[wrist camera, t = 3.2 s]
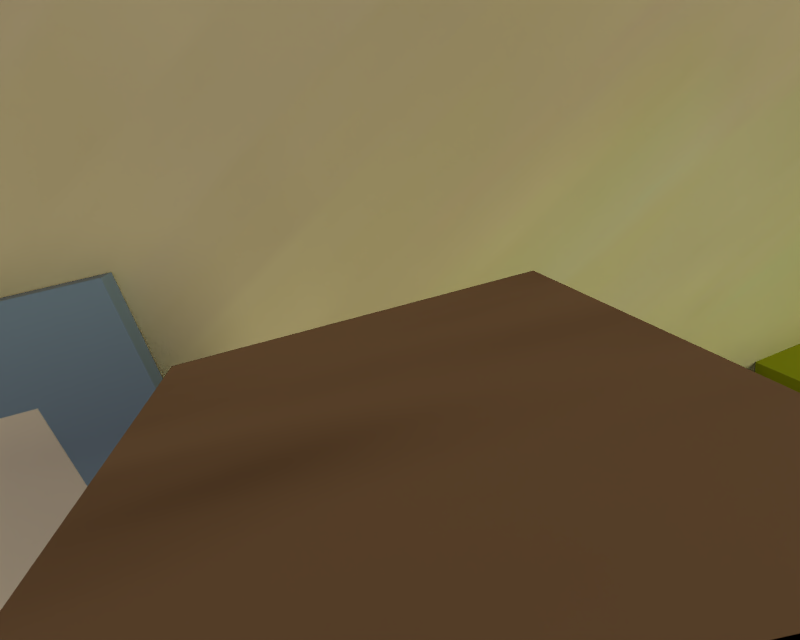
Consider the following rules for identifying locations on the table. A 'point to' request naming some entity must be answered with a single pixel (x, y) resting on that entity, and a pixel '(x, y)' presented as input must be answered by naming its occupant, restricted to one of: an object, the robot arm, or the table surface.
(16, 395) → the mat
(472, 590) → the walnut block
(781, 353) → the puzzle toy
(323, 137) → the table surface
